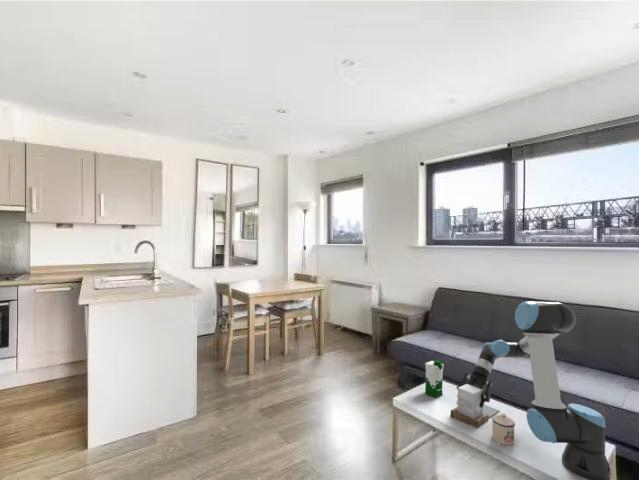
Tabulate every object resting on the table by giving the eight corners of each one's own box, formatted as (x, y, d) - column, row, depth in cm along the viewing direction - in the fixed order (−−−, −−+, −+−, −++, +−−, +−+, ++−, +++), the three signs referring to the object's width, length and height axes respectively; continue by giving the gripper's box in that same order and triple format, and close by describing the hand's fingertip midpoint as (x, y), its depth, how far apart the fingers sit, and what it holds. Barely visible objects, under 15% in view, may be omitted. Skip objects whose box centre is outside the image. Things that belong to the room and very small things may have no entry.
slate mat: (489, 418, 168) (489, 417, 168) (466, 408, 177) (466, 407, 177) (499, 411, 175) (499, 410, 175) (477, 402, 185) (477, 401, 185)
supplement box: (466, 411, 174) (466, 383, 174) (483, 419, 167) (483, 389, 167) (456, 416, 168) (457, 387, 169) (473, 424, 161) (474, 393, 162)
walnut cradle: (476, 428, 158) (476, 421, 158) (450, 416, 169) (450, 410, 169) (488, 420, 166) (488, 414, 166) (462, 409, 176) (462, 404, 176)
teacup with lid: (507, 448, 142) (507, 421, 143) (487, 437, 150) (487, 412, 150) (522, 440, 149) (522, 414, 149) (502, 430, 156) (502, 406, 157)
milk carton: (436, 399, 188) (437, 363, 188) (422, 393, 195) (423, 359, 195) (444, 395, 193) (445, 360, 193) (431, 389, 200) (431, 356, 201)
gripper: (506, 380, 169) (491, 421, 159) (465, 367, 186) (449, 403, 176) (501, 372, 166) (486, 413, 156) (460, 359, 183) (444, 396, 173)
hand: (466, 408), depth 166 cm, fingers closed on supplement box, 9 cm apart
